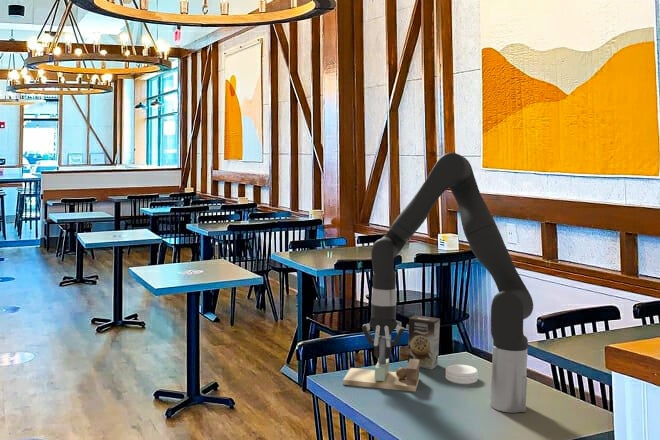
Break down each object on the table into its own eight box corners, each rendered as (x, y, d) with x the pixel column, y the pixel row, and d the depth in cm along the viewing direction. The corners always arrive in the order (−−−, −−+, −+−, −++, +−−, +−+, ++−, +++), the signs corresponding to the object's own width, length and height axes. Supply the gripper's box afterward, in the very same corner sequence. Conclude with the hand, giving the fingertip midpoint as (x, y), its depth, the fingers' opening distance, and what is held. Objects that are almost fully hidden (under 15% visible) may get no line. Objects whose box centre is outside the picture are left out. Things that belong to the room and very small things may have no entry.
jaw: (388, 371, 197) (389, 333, 196) (384, 381, 187) (385, 342, 186) (379, 370, 198) (380, 333, 197) (374, 380, 188) (375, 341, 187)
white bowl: (484, 382, 194) (484, 371, 194) (456, 386, 190) (457, 375, 190) (465, 373, 203) (466, 362, 203) (439, 376, 200) (439, 365, 199)
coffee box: (406, 365, 210) (408, 318, 208) (413, 360, 215) (414, 314, 214) (432, 369, 205) (434, 321, 204) (438, 364, 211) (440, 317, 210)
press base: (419, 378, 196) (419, 358, 195) (415, 391, 184) (416, 370, 184) (350, 372, 201) (351, 352, 200) (342, 384, 189) (343, 363, 189)
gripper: (407, 301, 193) (406, 356, 194) (363, 298, 196) (362, 352, 197) (405, 306, 185) (403, 363, 187) (359, 303, 188) (357, 359, 190)
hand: (382, 357), depth 192 cm, fingers closed on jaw, 2 cm apart
